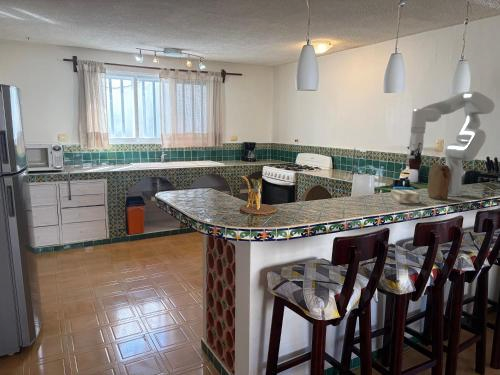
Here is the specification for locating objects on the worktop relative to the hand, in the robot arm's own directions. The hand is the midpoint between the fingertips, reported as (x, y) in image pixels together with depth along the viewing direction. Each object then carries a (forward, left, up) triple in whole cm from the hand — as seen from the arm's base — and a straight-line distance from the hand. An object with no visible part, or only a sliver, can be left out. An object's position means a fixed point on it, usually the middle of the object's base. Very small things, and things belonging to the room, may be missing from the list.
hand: (414, 161), depth 213 cm
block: (-15, 0, -22) cm, 27 cm away
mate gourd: (0, 0, -5) cm, 5 cm away
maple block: (+8, +12, -22) cm, 26 cm away
